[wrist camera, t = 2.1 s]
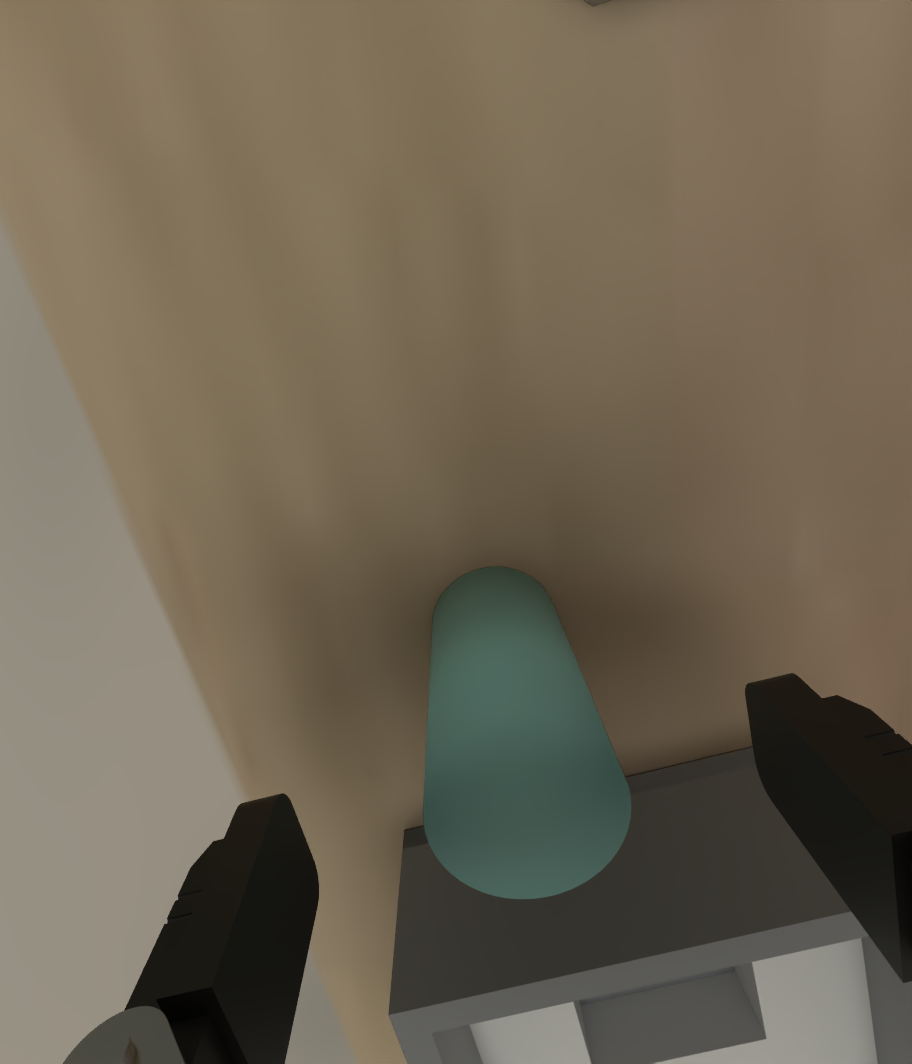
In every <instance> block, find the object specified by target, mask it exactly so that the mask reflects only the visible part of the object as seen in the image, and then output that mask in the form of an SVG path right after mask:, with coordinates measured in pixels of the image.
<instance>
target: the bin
mask: <svg viewBox="0 0 912 1064" xmlns="http://www.w3.org/2000/svg"><path fill="white" fill-rule="evenodd" d="M625 779H626V781H627V783H628V787H629V791H630V796H631V819H630V823H629V828H628V831H627V834H626V836H625V839H624V841H623V843H622V845H621V847H620V848H619V850H618V852H617V853H616V854H615V856H614V857H613V859H612V860H611V861H610V862H609V863H608V864H607V865H606V866H605V867H604V868H603V869H602V870H601V871H600V872H599V873H597V874H596V875H595V876H594V877H592V878H591V879H589V880H588V881H586V882H585V883H583V884H581V885H579V886H577V887H575V888H573V889H571V890H568V891H566V892H563V893H560V894H557V895H553V896H549V897H543V898H536V899H510V898H503V897H498V896H493V895H490V894H487V893H483V892H481V891H478V890H476V889H474V888H472V887H470V886H468V885H466V884H465V883H463V882H461V881H460V880H458V879H457V878H456V877H455V876H453V875H452V874H451V873H450V872H449V871H448V870H447V869H446V868H445V867H444V866H443V865H442V864H441V863H440V861H439V860H438V859H437V857H436V856H435V854H434V853H433V851H432V849H431V847H430V845H429V842H428V839H427V837H426V833H425V828H424V826H422V827H418V828H413V829H409V830H405V831H404V840H403V852H402V864H401V876H400V887H399V899H398V911H397V922H396V934H395V946H394V958H393V969H392V981H391V993H390V1004H389V1018H390V1020H391V1023H392V1025H393V1028H394V1030H395V1033H396V1035H397V1038H398V1040H399V1043H400V1045H401V1048H402V1050H403V1053H404V1056H405V1058H406V1061H407V1063H408V1064H912V981H910V982H906V983H903V982H902V981H901V979H900V978H899V977H898V975H897V974H896V972H895V971H894V970H893V968H892V967H891V966H890V964H889V963H888V961H887V960H886V959H885V957H884V956H883V955H882V953H881V952H880V950H879V949H878V948H877V946H876V945H875V943H874V942H873V941H872V939H871V938H870V937H869V935H868V934H867V932H866V931H865V930H864V928H863V927H862V925H861V924H860V923H859V921H858V920H857V919H856V917H855V916H854V914H853V913H852V912H851V910H850V909H849V908H848V906H847V905H846V903H845V902H844V901H843V899H842V898H841V896H840V895H839V894H838V892H837V891H836V890H835V888H834V887H833V885H832V884H831V883H830V881H829V880H828V878H827V877H826V876H825V874H824V873H823V872H822V870H821V869H820V867H819V866H818V865H817V863H816V862H815V861H814V859H813V858H812V856H811V855H810V854H809V852H808V851H807V849H806V848H805V847H804V845H803V844H802V843H801V841H800V840H799V838H798V837H797V836H796V834H795V833H794V832H793V830H792V829H791V827H790V826H789V825H788V823H787V822H786V820H785V819H784V818H783V816H782V815H781V814H780V812H779V811H778V809H777V808H776V807H775V805H774V804H773V802H772V801H771V800H770V798H769V796H768V795H767V793H766V791H765V789H764V787H763V784H762V782H761V779H760V777H759V774H758V771H757V767H756V763H755V758H754V751H753V747H750V748H746V749H742V750H738V751H734V752H730V753H725V754H721V755H717V756H713V757H709V758H705V759H701V760H696V761H692V762H688V763H684V764H680V765H676V766H671V767H667V768H663V769H659V770H655V771H651V772H646V773H642V774H638V775H634V776H630V777H626V778H625Z"/></svg>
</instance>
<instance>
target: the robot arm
mask: <svg viewBox="0 0 912 1064" xmlns="http://www.w3.org/2000/svg"><path fill="white" fill-rule="evenodd" d="M745 696H746V703H747V710H748V717H749V724H750V731H751V737H752V744H753V751H754V758H755V763H756V767H757V771H758V774H759V777H760V779H761V782H762V784H763V787H764V789H765V791H766V793H767V795H768V796H769V798H770V800H771V801H772V802H773V804H774V805H775V807H776V808H777V809H778V811H779V812H780V814H781V815H782V816H783V818H784V819H785V820H786V822H787V823H788V825H789V826H790V827H791V829H792V830H793V832H794V833H795V834H796V836H797V837H798V838H799V840H800V841H801V843H802V844H803V845H804V847H805V848H806V849H807V851H808V852H809V854H810V855H811V856H812V858H813V859H814V861H815V862H816V863H817V865H818V866H819V867H820V869H821V870H822V872H823V873H824V874H825V876H826V877H827V878H828V880H829V881H830V883H831V884H832V885H833V887H834V888H835V890H836V891H837V892H838V894H839V895H840V896H841V898H842V899H843V901H844V902H845V903H846V905H847V906H848V908H849V909H850V910H851V912H852V913H853V914H854V916H855V917H856V919H857V920H858V921H859V923H860V924H861V925H862V927H863V928H864V930H865V931H866V932H867V934H868V935H869V937H870V938H871V939H872V941H873V942H874V943H875V945H876V946H877V948H878V949H879V950H880V952H881V953H882V955H883V956H884V957H885V959H886V960H887V961H888V963H889V964H890V966H891V967H892V968H893V970H894V971H895V972H896V974H897V975H898V977H899V978H900V979H901V981H902V982H903V983H906V982H910V981H912V745H911V744H910V743H909V742H908V741H906V740H905V739H904V738H903V737H902V736H901V735H899V734H895V732H894V729H892V728H891V727H890V726H889V725H888V724H887V723H885V722H884V721H883V720H882V719H881V718H880V717H878V716H877V715H876V714H875V713H874V712H873V711H871V710H870V709H868V708H866V707H863V706H861V705H859V704H857V703H854V702H852V701H850V700H847V699H845V698H843V697H840V696H838V695H835V696H831V697H827V698H823V699H822V698H821V697H820V696H819V695H818V694H817V693H816V692H814V691H813V690H812V689H811V688H810V687H809V686H808V685H807V684H806V683H805V682H804V681H803V680H802V679H801V678H799V677H798V676H797V675H795V674H793V673H790V674H786V675H782V676H778V677H773V678H769V679H765V680H761V681H757V682H752V683H748V684H747V685H746V689H745ZM318 900H319V881H318V874H317V869H316V865H315V862H314V859H313V857H312V854H311V851H310V849H309V846H308V844H307V841H306V839H305V836H304V834H303V831H302V828H301V826H300V823H299V821H298V818H297V816H296V813H295V811H294V808H293V805H292V803H291V801H290V799H289V798H288V796H287V795H285V794H278V795H274V796H270V797H266V798H262V799H257V800H253V801H249V802H245V803H241V804H240V805H239V806H238V807H237V809H236V812H235V814H234V816H233V818H232V821H231V823H230V826H229V828H228V830H227V833H226V835H225V837H224V839H221V840H217V841H213V842H212V844H211V845H210V846H209V847H208V848H207V849H206V851H205V852H204V853H203V854H202V855H201V856H200V858H199V859H198V860H197V861H196V862H195V863H194V864H193V866H192V867H191V868H190V870H189V872H188V875H187V877H186V879H185V881H184V883H183V885H182V888H181V890H180V892H179V894H178V900H177V901H175V903H174V905H173V907H172V909H171V911H170V913H169V915H168V918H167V919H168V923H167V924H164V926H163V928H162V930H161V933H160V935H159V937H158V939H157V941H156V944H155V946H154V948H153V950H152V952H151V954H150V957H149V959H148V961H147V963H146V965H145V967H144V969H143V971H142V974H141V976H140V978H139V980H138V982H137V985H136V987H135V989H134V991H133V993H132V995H131V997H130V999H129V1002H128V1004H127V1006H126V1008H125V1010H124V1011H123V1012H120V1013H118V1014H116V1015H115V1016H113V1017H111V1018H109V1019H107V1020H106V1021H105V1022H103V1023H102V1024H100V1025H99V1026H97V1027H96V1028H95V1029H94V1030H93V1031H91V1032H90V1033H89V1034H88V1035H87V1036H86V1037H85V1038H84V1039H83V1040H82V1041H81V1042H80V1043H79V1044H78V1045H77V1046H76V1047H75V1048H74V1049H73V1051H72V1052H71V1053H70V1054H69V1056H68V1057H67V1058H66V1060H65V1061H64V1063H63V1064H285V1059H286V1054H287V1049H288V1045H289V1040H290V1035H291V1030H292V1025H293V1021H294V1015H295V1011H296V1006H297V1001H298V997H299V992H300V987H301V982H302V978H303V973H304V968H305V964H306V959H307V954H308V949H309V945H310V940H311V935H312V930H313V925H314V921H315V916H316V911H317V906H318Z"/></svg>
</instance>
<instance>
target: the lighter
mask: <svg viewBox="0 0 912 1064" xmlns="http://www.w3.org/2000/svg"><path fill="white" fill-rule="evenodd" d="M584 1H586V2H587V3H589V4H590V5H592V6H595V5H598V4H601V3H604V2H607V1H610V0H584Z"/></svg>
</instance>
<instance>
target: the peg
mask: <svg viewBox="0 0 912 1064" xmlns="http://www.w3.org/2000/svg"><path fill="white" fill-rule="evenodd" d="M630 819H631V796H630V791H629V787H628V783H627V781H626V779H625V776H624V774H623V771H622V769H621V766H620V764H619V762H618V759H617V757H616V754H615V752H614V750H613V747H612V745H611V742H610V740H609V738H608V735H607V733H606V730H605V728H604V726H603V723H602V721H601V718H600V716H599V713H598V711H597V709H596V706H595V704H594V701H593V699H592V697H591V694H590V692H589V689H588V687H587V685H586V682H585V680H584V677H583V675H582V673H581V670H580V668H579V665H578V663H577V660H576V658H575V656H574V653H573V651H572V648H571V646H570V644H569V641H568V639H567V636H566V634H565V632H564V629H563V627H562V624H561V622H560V620H559V617H558V615H557V612H556V610H555V607H554V605H553V603H552V600H551V598H550V597H549V595H548V593H547V592H546V590H545V589H544V588H543V587H542V586H541V585H540V584H539V583H538V582H537V581H536V580H534V579H533V578H532V577H530V576H529V575H527V574H525V573H523V572H520V571H518V570H515V569H511V568H506V567H486V568H481V569H477V570H473V571H471V572H469V573H466V574H464V575H463V576H461V577H459V578H458V579H457V580H455V581H454V582H453V583H452V584H451V585H450V586H448V587H447V589H446V590H445V591H444V592H443V594H442V595H441V597H440V599H439V600H438V602H437V605H436V607H435V610H434V614H433V621H432V638H431V659H430V679H429V700H428V720H427V741H426V761H425V782H424V802H423V823H424V828H425V833H426V837H427V839H428V842H429V845H430V847H431V849H432V851H433V853H434V854H435V856H436V857H437V859H438V860H439V861H440V863H441V864H442V865H443V866H444V867H445V868H446V869H447V870H448V871H449V872H450V873H451V874H452V875H453V876H455V877H456V878H457V879H458V880H460V881H461V882H463V883H465V884H466V885H468V886H470V887H472V888H474V889H476V890H478V891H481V892H483V893H487V894H490V895H493V896H498V897H503V898H510V899H536V898H543V897H549V896H553V895H557V894H560V893H563V892H566V891H568V890H571V889H573V888H575V887H577V886H579V885H581V884H583V883H585V882H586V881H588V880H589V879H591V878H592V877H594V876H595V875H596V874H597V873H599V872H600V871H601V870H602V869H603V868H604V867H605V866H606V865H607V864H608V863H609V862H610V861H611V860H612V859H613V857H614V856H615V854H616V853H617V852H618V850H619V848H620V847H621V845H622V843H623V841H624V839H625V836H626V834H627V831H628V828H629V823H630Z"/></svg>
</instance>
